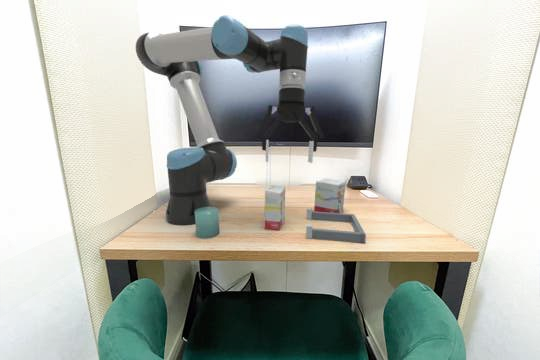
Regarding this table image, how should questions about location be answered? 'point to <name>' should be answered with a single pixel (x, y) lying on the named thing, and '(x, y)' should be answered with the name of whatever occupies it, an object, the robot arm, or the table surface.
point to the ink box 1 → (274, 207)
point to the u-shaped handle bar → (335, 235)
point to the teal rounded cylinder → (207, 222)
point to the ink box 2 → (329, 196)
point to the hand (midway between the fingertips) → (288, 161)
